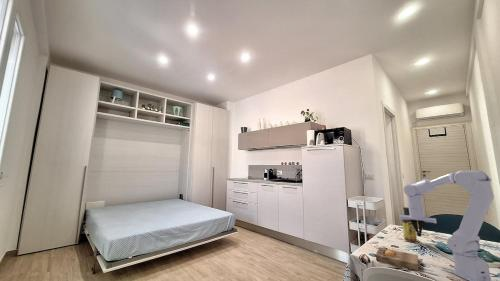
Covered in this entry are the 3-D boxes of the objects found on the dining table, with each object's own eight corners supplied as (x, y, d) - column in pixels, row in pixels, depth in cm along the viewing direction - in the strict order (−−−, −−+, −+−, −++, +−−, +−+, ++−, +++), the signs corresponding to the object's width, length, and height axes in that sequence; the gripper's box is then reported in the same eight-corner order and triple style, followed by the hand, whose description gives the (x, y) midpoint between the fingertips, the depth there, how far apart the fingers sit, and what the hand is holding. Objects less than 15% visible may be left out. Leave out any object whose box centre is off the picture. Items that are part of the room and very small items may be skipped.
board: (418, 260, 98) (417, 254, 98) (418, 270, 89) (417, 264, 89) (379, 252, 108) (379, 247, 108) (376, 260, 99) (375, 255, 99)
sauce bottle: (412, 243, 120) (407, 208, 123) (401, 239, 126) (397, 206, 128) (420, 241, 122) (415, 207, 124) (409, 238, 127) (405, 206, 130)
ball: (385, 259, 101) (395, 261, 99) (384, 255, 100) (394, 258, 97) (385, 251, 104) (395, 253, 101) (384, 247, 102) (394, 249, 99)
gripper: (434, 208, 102) (438, 236, 100) (398, 205, 111) (402, 231, 109) (435, 210, 97) (439, 240, 95) (397, 207, 106) (401, 234, 104)
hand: (419, 235), depth 102 cm, fingers closed
